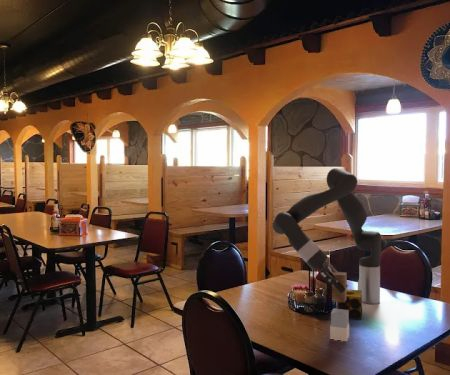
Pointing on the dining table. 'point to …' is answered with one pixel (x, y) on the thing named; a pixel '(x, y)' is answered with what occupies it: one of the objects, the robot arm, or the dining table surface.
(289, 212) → the robot arm
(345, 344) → the dining table surface
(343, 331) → the tower base
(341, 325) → the block
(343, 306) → the yellow patterned cube
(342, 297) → the pillar
